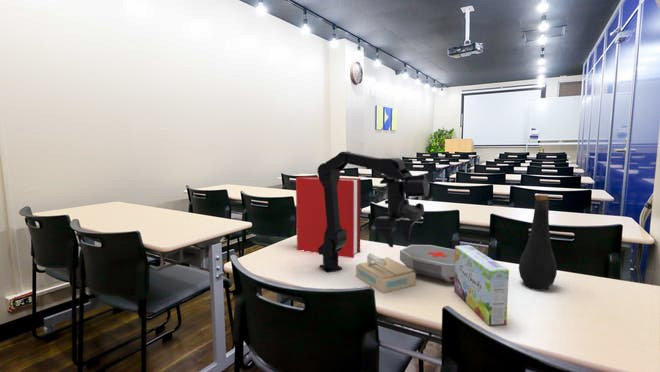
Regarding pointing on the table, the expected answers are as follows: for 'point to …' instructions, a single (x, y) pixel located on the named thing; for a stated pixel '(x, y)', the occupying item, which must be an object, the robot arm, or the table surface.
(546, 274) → the bottle
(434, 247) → the first aid kit
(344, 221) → the book
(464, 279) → the snack box
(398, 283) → the carton
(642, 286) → the table surface
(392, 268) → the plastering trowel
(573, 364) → the table surface
